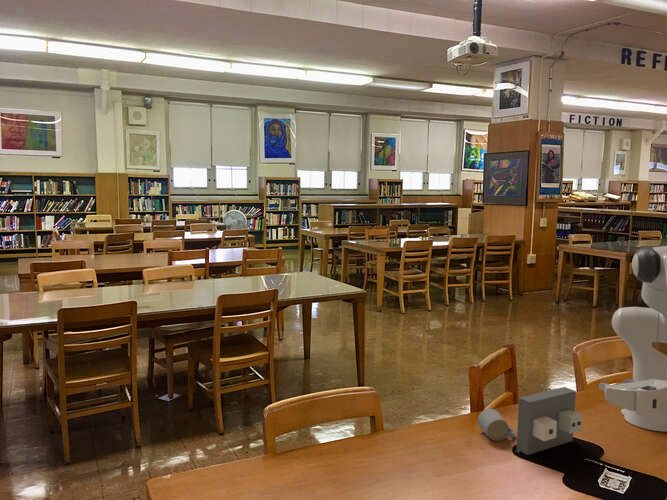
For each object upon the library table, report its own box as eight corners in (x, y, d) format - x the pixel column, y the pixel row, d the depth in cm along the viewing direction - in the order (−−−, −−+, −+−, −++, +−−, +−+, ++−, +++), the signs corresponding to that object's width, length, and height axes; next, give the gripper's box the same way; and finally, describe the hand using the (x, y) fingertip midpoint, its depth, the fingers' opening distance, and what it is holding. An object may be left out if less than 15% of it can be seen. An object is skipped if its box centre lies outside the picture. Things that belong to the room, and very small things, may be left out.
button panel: (561, 435, 165) (564, 386, 163) (572, 440, 162) (575, 391, 160) (516, 449, 156) (519, 397, 154) (527, 455, 152) (529, 402, 151)
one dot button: (541, 430, 156) (542, 414, 155) (557, 438, 151) (558, 421, 151) (530, 434, 154) (531, 418, 153) (545, 441, 149) (546, 425, 148)
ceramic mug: (487, 443, 160) (488, 418, 159) (476, 431, 168) (478, 408, 167) (519, 441, 161) (521, 418, 160) (507, 430, 169) (509, 407, 168)
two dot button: (566, 423, 161) (567, 408, 160) (582, 430, 156) (583, 414, 156) (555, 427, 159) (556, 411, 158) (570, 434, 154) (571, 417, 153)
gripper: (692, 382, 130) (638, 368, 142) (638, 391, 121) (587, 375, 134) (690, 407, 130) (637, 391, 143) (637, 417, 121) (586, 399, 134)
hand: (612, 383), depth 138 cm, fingers open, 8 cm apart
